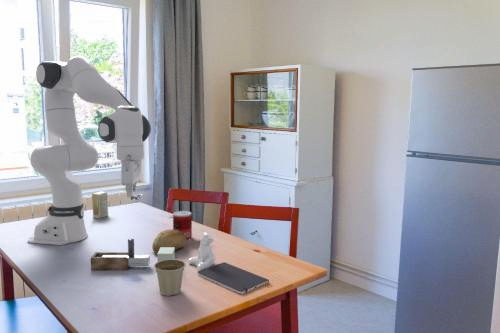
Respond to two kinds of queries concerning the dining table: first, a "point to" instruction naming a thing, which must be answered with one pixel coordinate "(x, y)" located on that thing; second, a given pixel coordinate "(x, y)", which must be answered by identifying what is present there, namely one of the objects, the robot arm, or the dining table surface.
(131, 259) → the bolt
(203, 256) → the sitting furry creature
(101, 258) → the open wooden box
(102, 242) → the dining table surface
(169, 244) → the bread roll
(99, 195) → the skincare box
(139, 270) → the dining table surface
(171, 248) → the pale green block
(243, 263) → the dining table surface
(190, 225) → the canned food
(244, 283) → the notebook
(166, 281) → the flower pot
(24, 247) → the dining table surface
